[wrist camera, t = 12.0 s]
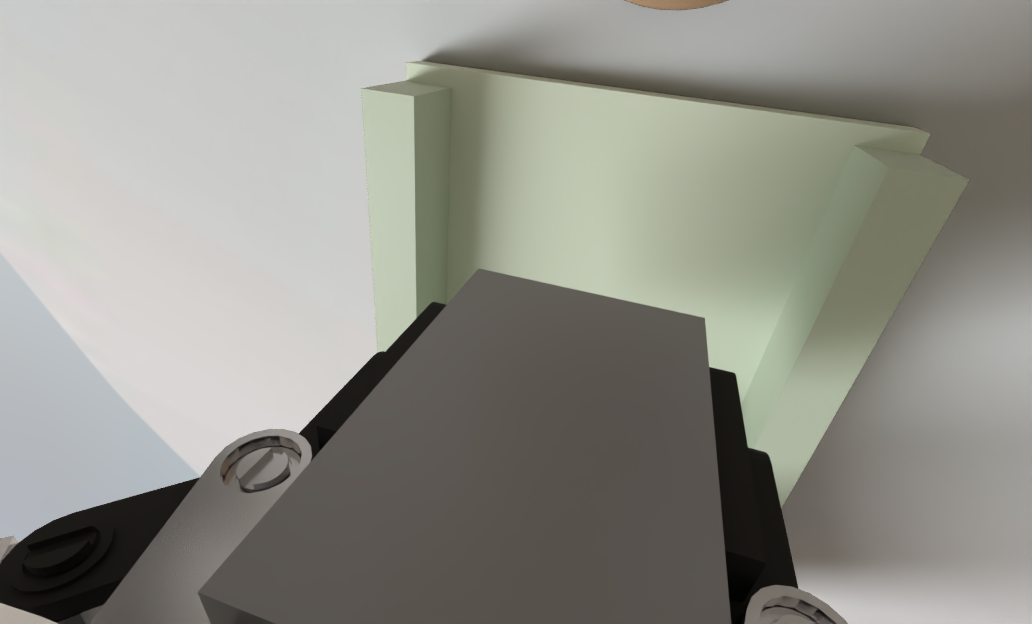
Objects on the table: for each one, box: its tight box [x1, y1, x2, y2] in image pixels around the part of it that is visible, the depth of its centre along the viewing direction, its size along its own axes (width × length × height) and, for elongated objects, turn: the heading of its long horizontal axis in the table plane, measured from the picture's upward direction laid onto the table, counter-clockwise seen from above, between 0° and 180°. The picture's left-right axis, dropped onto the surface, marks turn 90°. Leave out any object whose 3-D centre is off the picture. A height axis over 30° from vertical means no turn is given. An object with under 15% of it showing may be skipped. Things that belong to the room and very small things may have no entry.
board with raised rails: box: [361, 61, 970, 508], centre depth 16 cm, size 13×14×4 cm
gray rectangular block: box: [198, 268, 731, 624], centre depth 8 cm, size 4×4×8 cm
